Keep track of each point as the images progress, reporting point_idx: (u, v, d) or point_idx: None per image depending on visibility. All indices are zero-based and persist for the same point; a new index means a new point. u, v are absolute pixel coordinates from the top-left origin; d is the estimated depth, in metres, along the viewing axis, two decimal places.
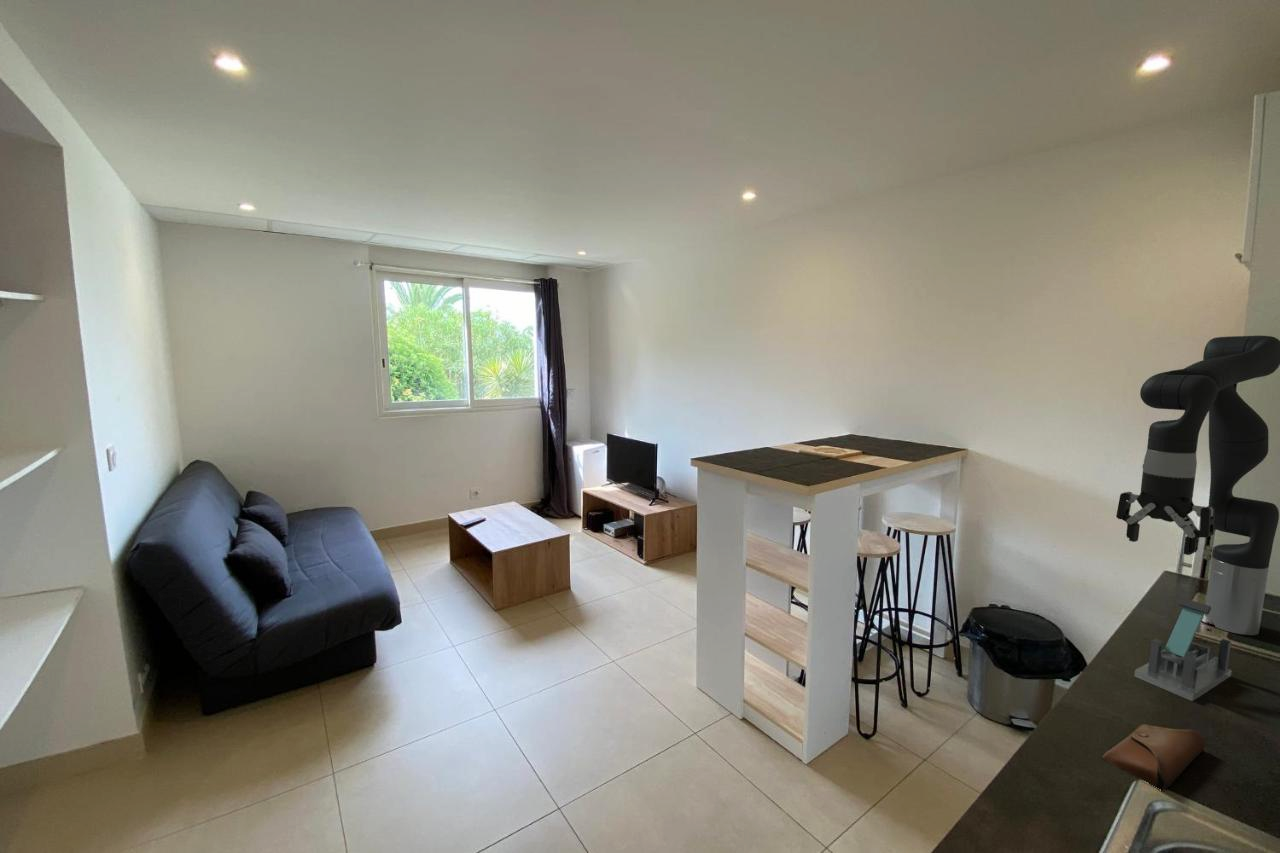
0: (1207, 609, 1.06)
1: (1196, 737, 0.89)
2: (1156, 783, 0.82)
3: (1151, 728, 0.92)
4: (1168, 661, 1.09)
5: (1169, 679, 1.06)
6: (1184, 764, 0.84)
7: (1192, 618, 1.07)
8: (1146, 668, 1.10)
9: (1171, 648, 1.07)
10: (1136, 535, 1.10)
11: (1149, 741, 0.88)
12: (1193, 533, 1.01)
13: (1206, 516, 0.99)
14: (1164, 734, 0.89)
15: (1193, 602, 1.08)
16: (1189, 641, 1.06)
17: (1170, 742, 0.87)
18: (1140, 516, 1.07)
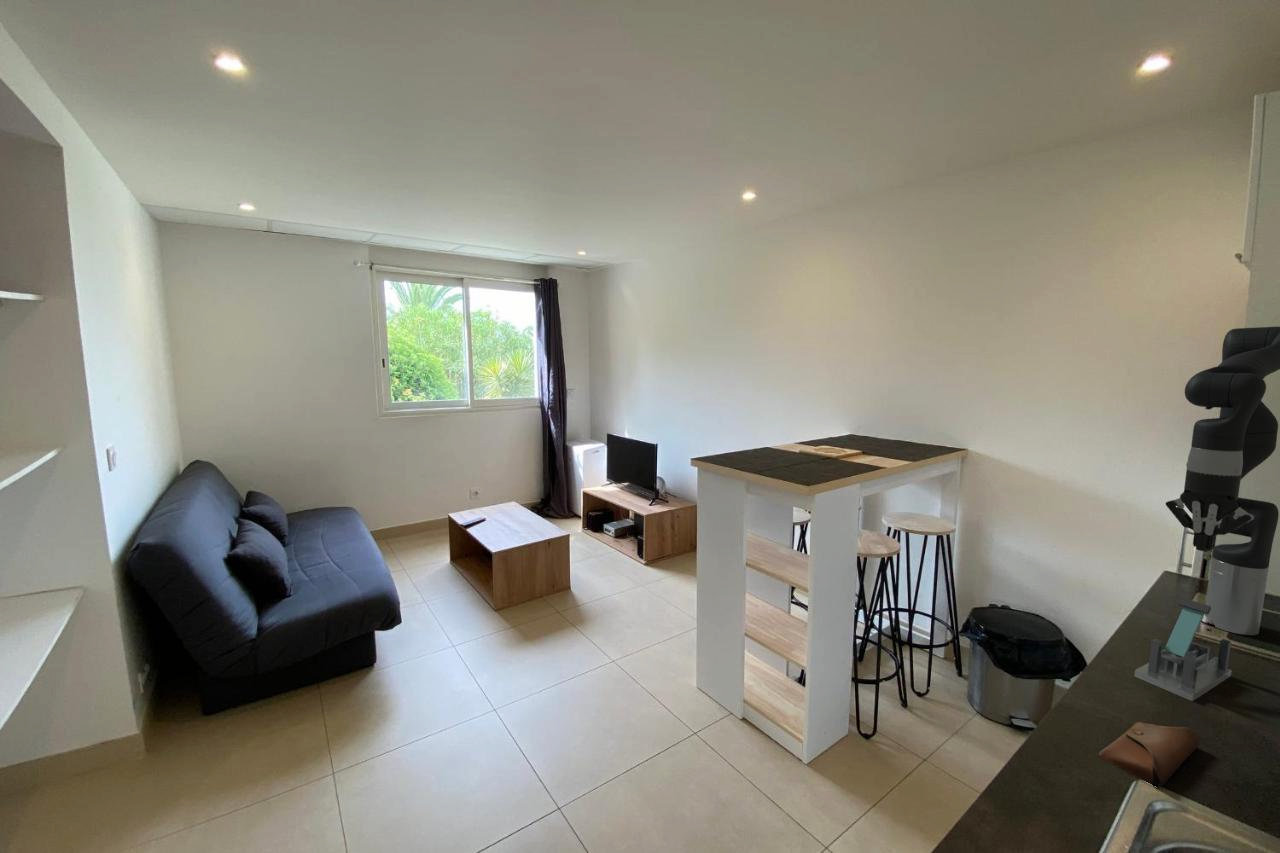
0: (1207, 609, 1.06)
1: (1190, 734, 0.89)
2: (1152, 780, 0.82)
3: (1146, 726, 0.93)
4: (1168, 661, 1.09)
5: (1169, 679, 1.06)
6: (1179, 761, 0.85)
7: (1192, 618, 1.07)
8: (1146, 668, 1.10)
9: (1171, 648, 1.07)
10: None
11: (1144, 739, 0.88)
12: (1211, 531, 1.05)
13: (1241, 522, 1.01)
14: (1159, 732, 0.89)
15: (1193, 602, 1.08)
16: (1189, 641, 1.06)
17: (1165, 740, 0.87)
18: (1198, 519, 1.06)
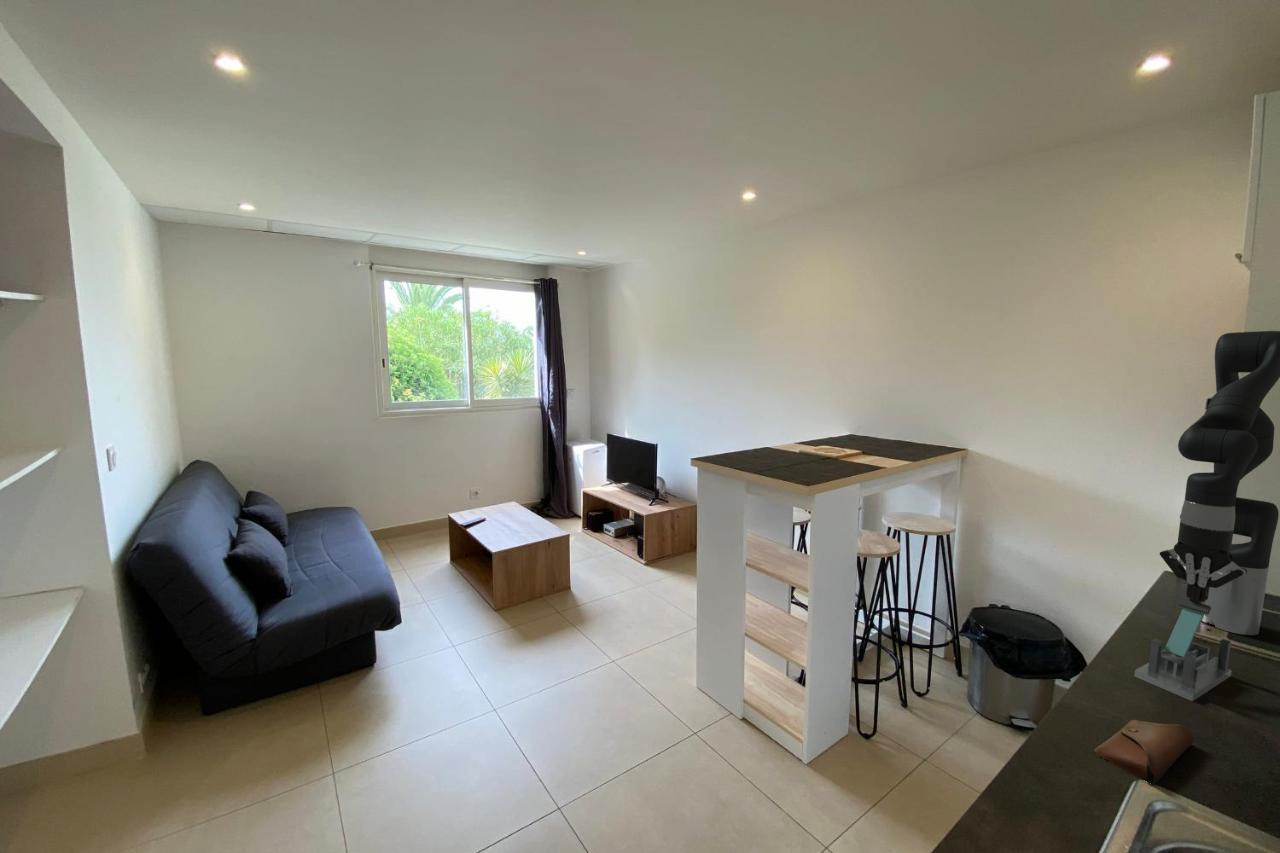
0: (1207, 609, 1.06)
1: (1184, 732, 0.90)
2: (1146, 777, 0.83)
3: (1141, 723, 0.94)
4: (1168, 661, 1.09)
5: (1169, 679, 1.06)
6: (1173, 758, 0.86)
7: (1192, 618, 1.07)
8: (1146, 668, 1.10)
9: (1171, 648, 1.07)
10: None
11: (1139, 736, 0.89)
12: (1204, 583, 1.06)
13: (1233, 576, 1.02)
14: (1153, 729, 0.90)
15: (1193, 602, 1.08)
16: (1189, 641, 1.06)
17: (1159, 737, 0.88)
18: (1192, 571, 1.07)
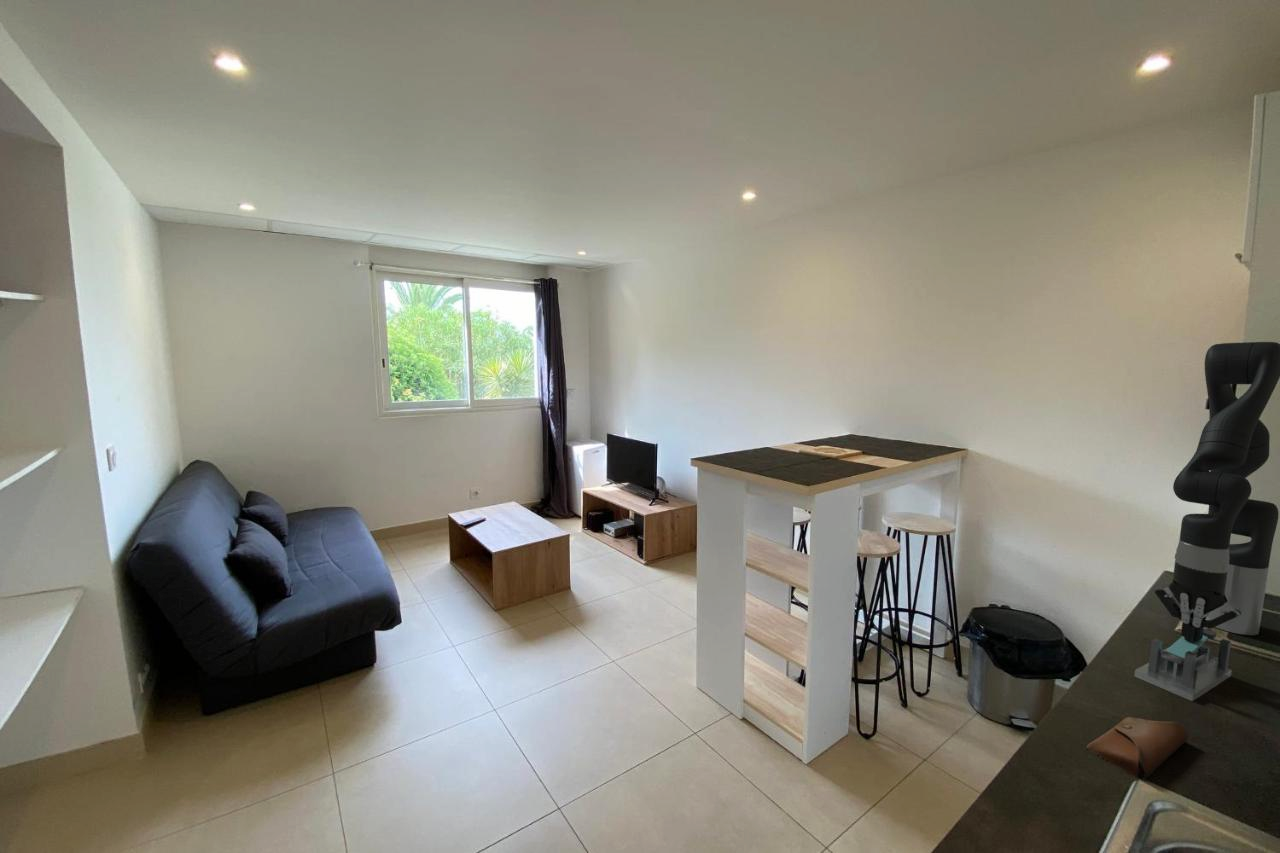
0: (1213, 633, 1.09)
1: (1179, 729, 0.91)
2: (1137, 772, 0.84)
3: (1136, 720, 0.94)
4: (1168, 661, 1.09)
5: (1169, 679, 1.06)
6: (1165, 754, 0.86)
7: None
8: (1146, 668, 1.10)
9: (1172, 651, 1.07)
10: None
11: (1132, 732, 0.90)
12: (1198, 623, 1.07)
13: (1227, 618, 1.03)
14: (1147, 726, 0.91)
15: None
16: (1191, 650, 1.07)
17: (1152, 733, 0.89)
18: (1186, 610, 1.08)
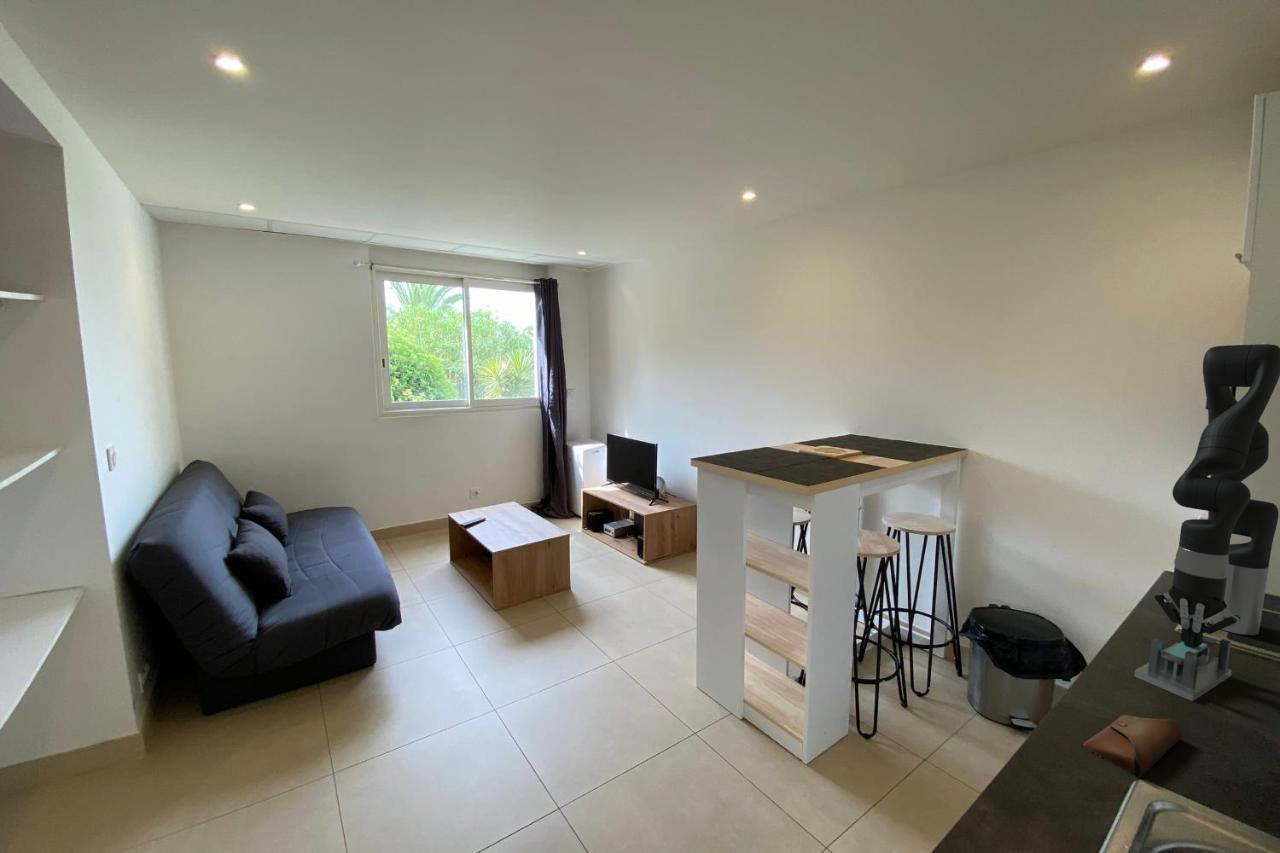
0: (1213, 641, 1.09)
1: (1173, 726, 0.91)
2: (1133, 770, 0.85)
3: (1131, 718, 0.95)
4: (1168, 661, 1.09)
5: (1169, 679, 1.06)
6: (1161, 752, 0.87)
7: None
8: (1146, 668, 1.10)
9: (1172, 652, 1.08)
10: None
11: (1128, 730, 0.90)
12: (1198, 628, 1.07)
13: (1227, 624, 1.03)
14: (1142, 723, 0.91)
15: None
16: None
17: (1148, 731, 0.89)
18: (1186, 616, 1.09)
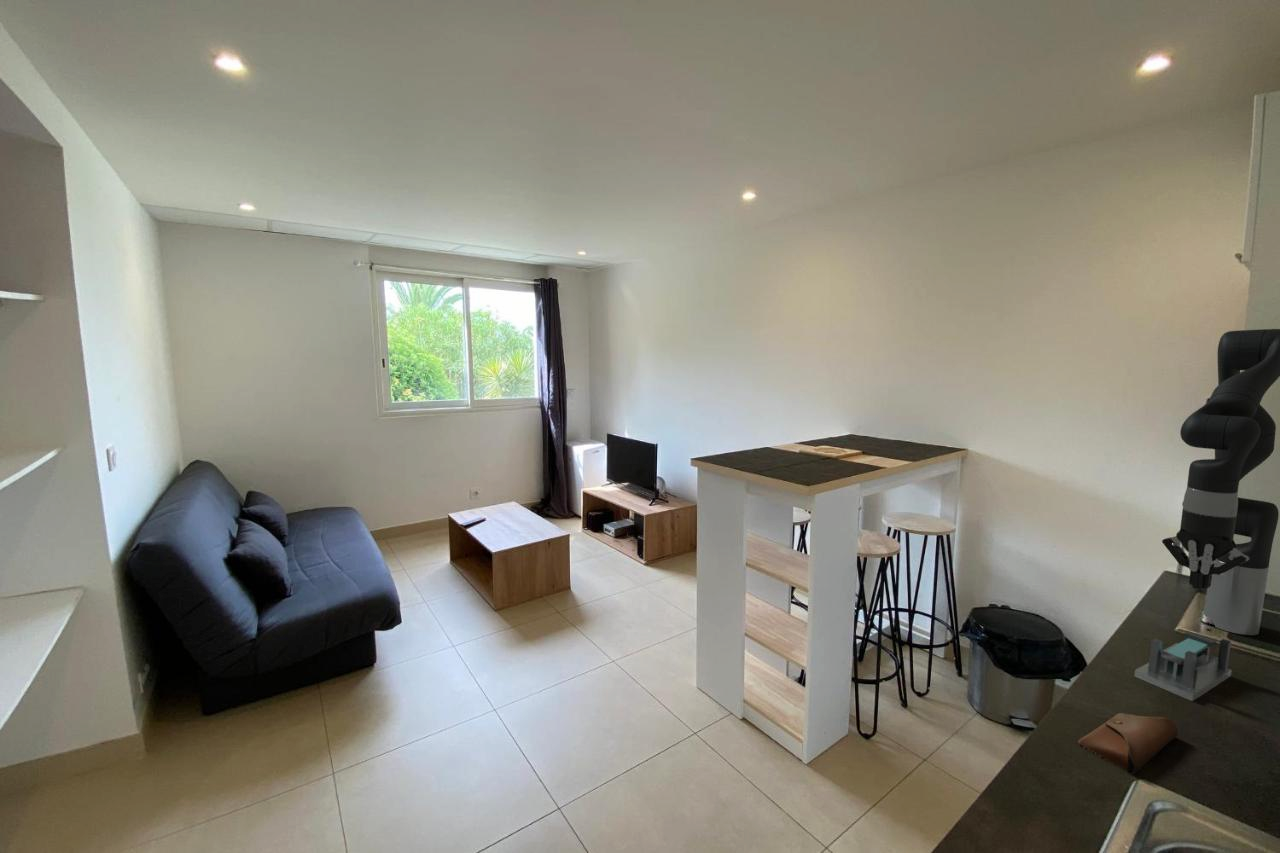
0: (1213, 641, 1.09)
1: (1169, 724, 0.92)
2: (1127, 767, 0.85)
3: (1127, 716, 0.96)
4: (1168, 661, 1.09)
5: (1169, 679, 1.06)
6: (1155, 749, 0.88)
7: (1196, 644, 1.10)
8: (1146, 668, 1.10)
9: (1172, 652, 1.08)
10: None
11: (1123, 727, 0.91)
12: (1207, 570, 1.06)
13: (1236, 563, 1.02)
14: (1138, 721, 0.92)
15: None
16: None
17: (1142, 729, 0.90)
18: (1194, 558, 1.07)
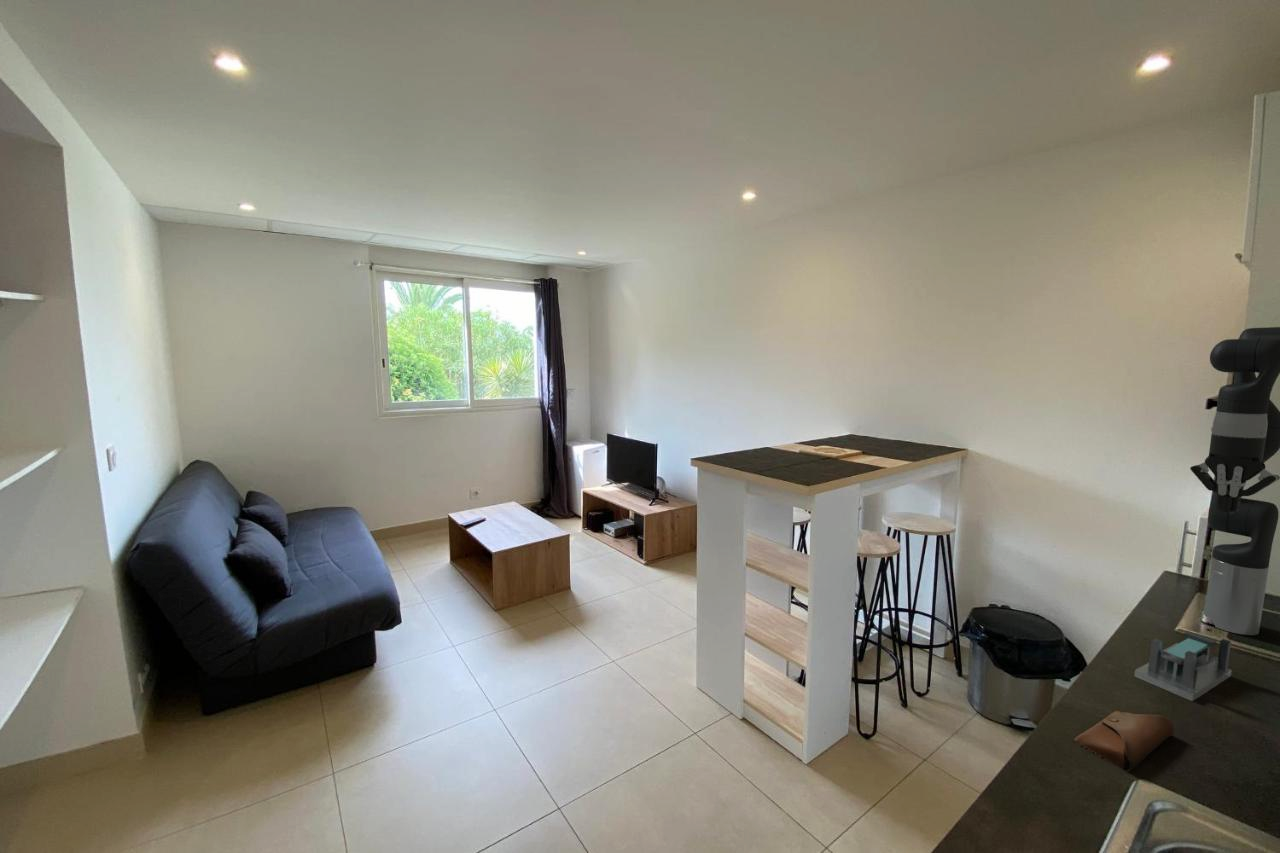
0: (1213, 641, 1.09)
1: (1165, 722, 0.92)
2: (1123, 764, 0.86)
3: (1123, 714, 0.96)
4: (1168, 661, 1.09)
5: (1169, 679, 1.06)
6: (1151, 747, 0.88)
7: (1196, 644, 1.10)
8: (1146, 668, 1.10)
9: (1172, 652, 1.08)
10: None
11: (1119, 725, 0.91)
12: (1235, 492, 1.08)
13: (1266, 483, 1.04)
14: (1133, 719, 0.92)
15: None
16: None
17: (1138, 726, 0.91)
18: (1223, 481, 1.09)
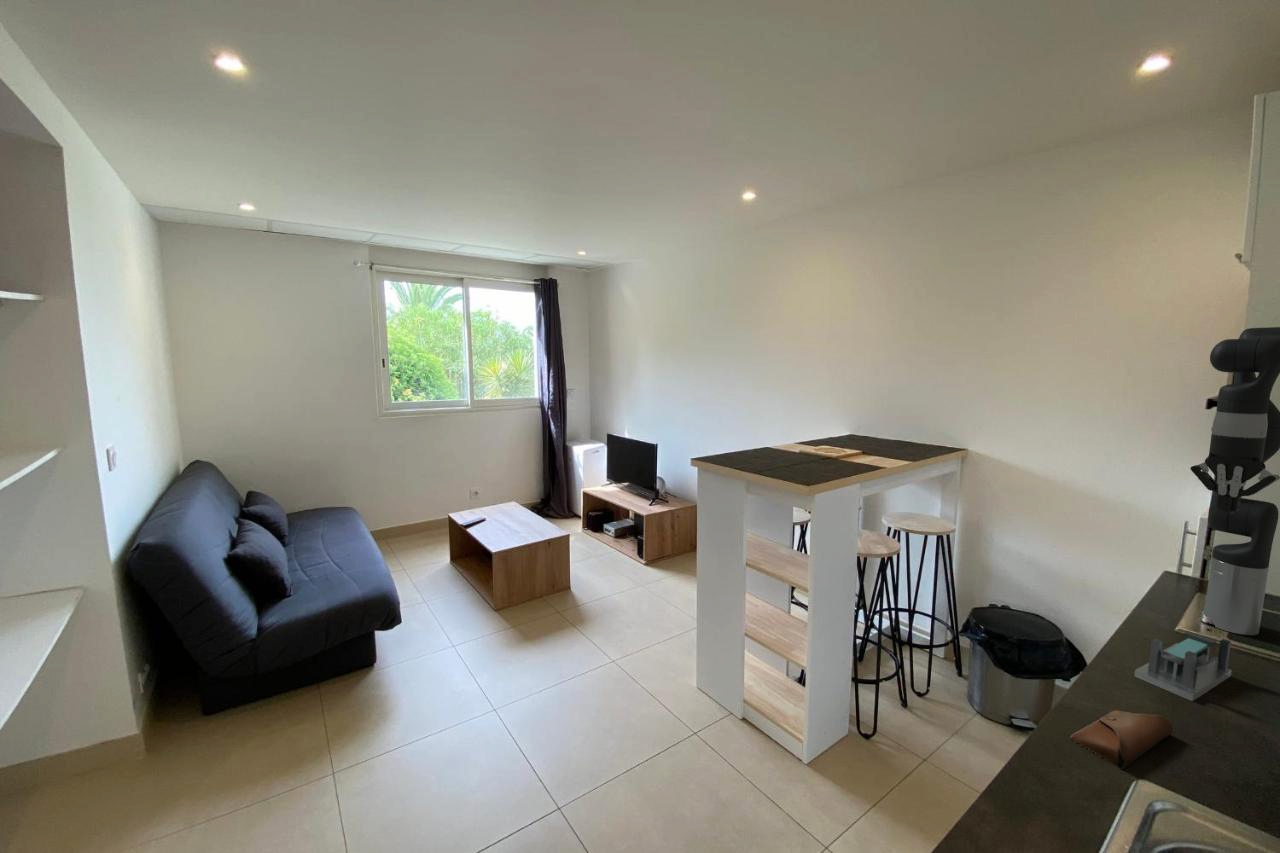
0: (1213, 641, 1.09)
1: (1163, 722, 0.92)
2: (1117, 761, 0.86)
3: (1122, 713, 0.96)
4: (1168, 661, 1.09)
5: (1169, 679, 1.06)
6: (1147, 745, 0.88)
7: (1196, 644, 1.10)
8: (1146, 668, 1.10)
9: (1172, 652, 1.08)
10: None
11: (1116, 724, 0.92)
12: (1236, 492, 1.08)
13: (1266, 483, 1.04)
14: (1131, 718, 0.93)
15: None
16: None
17: (1135, 725, 0.91)
18: (1223, 481, 1.09)
